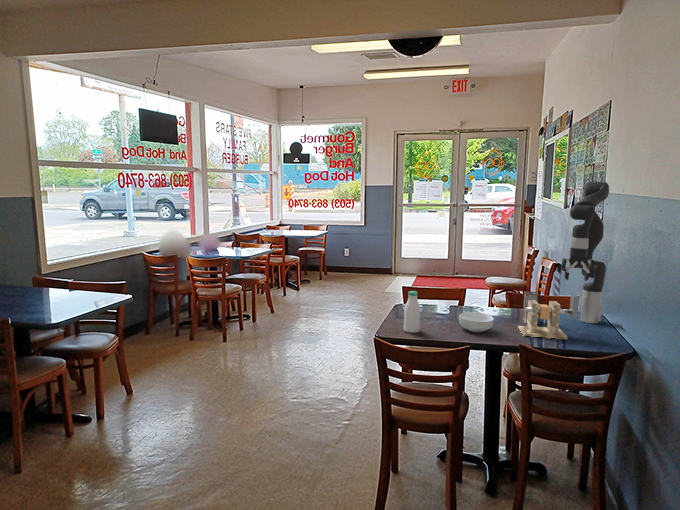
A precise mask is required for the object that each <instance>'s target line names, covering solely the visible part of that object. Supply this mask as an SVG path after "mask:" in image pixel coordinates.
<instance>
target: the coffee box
mask: <svg viewBox="0 0 680 510" xmlns="http://www.w3.org/2000/svg"><path fill="white" fill-rule="evenodd" d="M540 299H541V295H540V293H538V291H524V299H523V314H522V321H523V320H524V321H523V322H524V324H525V323H527V314H528V312H526V307H528V301H529V300H535V301H536V302H537V303H538V304H540V301H541V300H540ZM538 322H539V320H538V321H537V324H539V323H538Z"/></svg>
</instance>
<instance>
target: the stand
mask: <svg viewBox="0 0 680 510" xmlns="http://www.w3.org/2000/svg"><path fill="white" fill-rule="evenodd" d="M539 304H540V303H539ZM539 304H538V303H537V302H536V301H535V300H529V301H528V307H531V312H528V314H527V324H526V325H517V329H518V328H519V330H520V331H521V332H520V331H519V330H518V331H519V332H520V334H521V333H522V334H523V335H522V334H521V335H522V336H531V337H530V338H533V337H543V338H542V339H550V338H556V339H555V340H565V341H566V340H568V335H566V333H565V332H563V331H562V329H560V326H559V325H560V309H561V304H560V303H559V302H557V300H549V303H548V306H549V307H550V308H552V313H549V320H548V319H547V325H546V326H538V325H537V321H538V322H539V317H538V308H539Z"/></svg>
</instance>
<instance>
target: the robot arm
mask: <svg viewBox="0 0 680 510" xmlns="http://www.w3.org/2000/svg"><path fill="white" fill-rule="evenodd" d="M583 191H584V192H583V193H584V195H583V198H582V199H581V201H579V202H577V203H575V204H574V205H572V206H571V208H570V211H569V215H570V218H571V219H572V220H575V221H577V220H579V221H584V222H583V223H582V224H576V225H573V227H572V232H571V233H572V237H571V241H570V250H569V251H570V252H569V258H565V257H563V258H562V259H561V267H560V270H561V271H562V272H564V279H565V280H566V281H569V279H570V271H571V270H572V269H581V274H582V276H583V277H584V278H583V279H584V281H585V282H587V281H588V280H589V278H591V279H593V281H592V282H588V283H585V284H583V286H582V295H581V297H582V298H581V307H580V317H579V318H580V319H579V320H580V321H581V322H584V323H588V324H600V323H601V321H602V319H601V318H602V311H603V306H602V297H603V295H602V294H603V289H604V285H605V284H604V283H605V276H606V272H607V267H606V263H605V262H603V261H598V260H594V259H593V256H594V255H593V254H594V251H595V249H597V247H598V246H599V244H600V243H601V242H602V240H603V239H604V228H605V227H604V223H603V220H602V219H601V218H600V216H599V214H598V213H597V211H596V207H597V206H598V205H600V204H601V203H602V202H603V201H605V200H606V199H607V198H608V197H609V194H610V186H609V184H608V182H606V181H587V182H586V183H585V185H584V190H583ZM568 262H569V264H568V265H567V263H568ZM566 266H567V267H566ZM599 322H600V323H599Z"/></svg>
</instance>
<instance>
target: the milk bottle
mask: <svg viewBox="0 0 680 510" xmlns="http://www.w3.org/2000/svg"><path fill="white" fill-rule="evenodd" d="M407 295H408V298H407V302H406V304H405V306H404V314H403V315H404V317H403V318H404V319H403V330H404V331H405V332H406V333H412V334H414V333H415V334H416V333H419V332H420V324H421V323H420V322H421V306H420V303H419V301H418V297H419V296H418V291H416V290H410V291H408V294H407Z"/></svg>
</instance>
